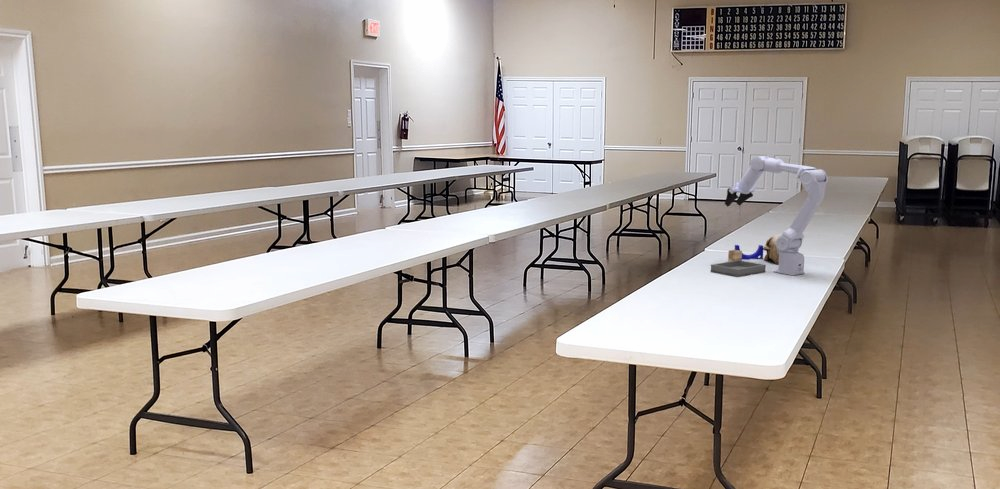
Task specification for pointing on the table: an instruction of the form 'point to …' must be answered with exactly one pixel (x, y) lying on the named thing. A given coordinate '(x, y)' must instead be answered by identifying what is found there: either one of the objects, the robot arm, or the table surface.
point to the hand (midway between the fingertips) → (732, 204)
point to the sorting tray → (738, 268)
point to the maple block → (734, 255)
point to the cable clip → (752, 256)
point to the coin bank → (772, 249)
